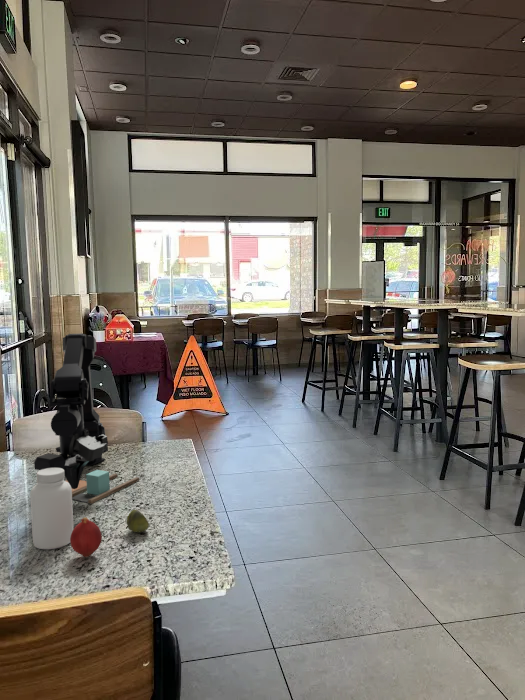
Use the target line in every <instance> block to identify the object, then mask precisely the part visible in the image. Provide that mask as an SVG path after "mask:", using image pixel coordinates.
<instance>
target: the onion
mask: <svg viewBox="0 0 525 700" xmlns="http://www.w3.org/2000/svg"><path fill="white" fill-rule="evenodd" d="M80 520H81V521H80V522H79V523H78V524H76V525H75V526H74V527H73V531H72V534H71V537H70V543H69V544H70V546H71V548H72V550H73V551H74V552H75V553H77V554H78V555H81V556H82V557H84V558H89V557H90V556H91V555H93V553H95V552H96V551H97V550H98V549H99V547H100V546H101V544H102V539H103V535H102V530H101V529H100V527H99V526H98V525H97V524H96V523H95V522H94V521H92V520H89V518H88V517H83V518H82V519H80Z"/></svg>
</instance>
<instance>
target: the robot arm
mask: <svg viewBox="0 0 525 700" xmlns="http://www.w3.org/2000/svg"><path fill="white" fill-rule="evenodd" d="M62 352H63V353H64V356H63V362H62V366H61V367H60V368H59V369H57V370H56V371H55V374H54V378H53V379H52V380H51V385H50V398H49V407H56V413H55V414H54V415H53V417H52V419H51V421H50V427H51V430H52V431H53V433H54V434H55V436H59V439H58V440H59V446H58V447H55V449H56V451H55V452H57V453H59V454H55V453H49V452H48V453H46V454H42V455H40V456H37V457H36V458H35V459H34V460H33V461H34V462H33V464H34V465H33V466H34V470H37V471H40V470H42V469H46V468H62V469H64V474H65V477H64V478H65V479H66V480H67V481H68V483H69V484H70V486H71V488H72V489H76V488H78V485H79V481H80V480H81V476H82V474H83V471H84V468H85V466H87V467H92V466H93V465H96V464H99V463H103V462H104V461H106V458H104V457H103V454H104V453H106V452H109V441H108V436H107V435H106V429H105V427H104V425H103V423H102V422H101V418H100V414H98V412H97V411H96V410H95V409H94V403H93V402H94V401H93V400H94V399H93V388H92V387H93V386H92V377H91V376H92V375H91V364H92V362H93V361H94V357H95V353H96V352H97V340H96V338H95V337H94V336H92V335H90V334H89V335H87V334H85V333H82V332H81V333H68V334H65V336H64V337H62Z"/></svg>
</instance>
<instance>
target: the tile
mask: <svg viewBox="0 0 525 700" xmlns="http://www.w3.org/2000/svg"><path fill="white" fill-rule="evenodd" d="M65 481H66V482H68V481H67V479H66V480H65ZM85 486H87V483H86V480H81V479H80V481H79V485H78V488H76V489H72V488H71V489H72V492H74V491H76V490H79V489H81V488H83V487H85Z"/></svg>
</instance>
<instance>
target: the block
mask: <svg viewBox="0 0 525 700" xmlns="http://www.w3.org/2000/svg"><path fill="white" fill-rule="evenodd" d="M109 476H110V471H107V470H100V469H95V470H93V471H91V472H89V473H86V474H85V477H86V478H85V479H86V480H85V481H86V483H87V491H86V494H89V495H94V496H97V495H100V494H102V493H104V492H106V491H108V490H110V489H111V487H110V486H111V484H110V480H109Z"/></svg>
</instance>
